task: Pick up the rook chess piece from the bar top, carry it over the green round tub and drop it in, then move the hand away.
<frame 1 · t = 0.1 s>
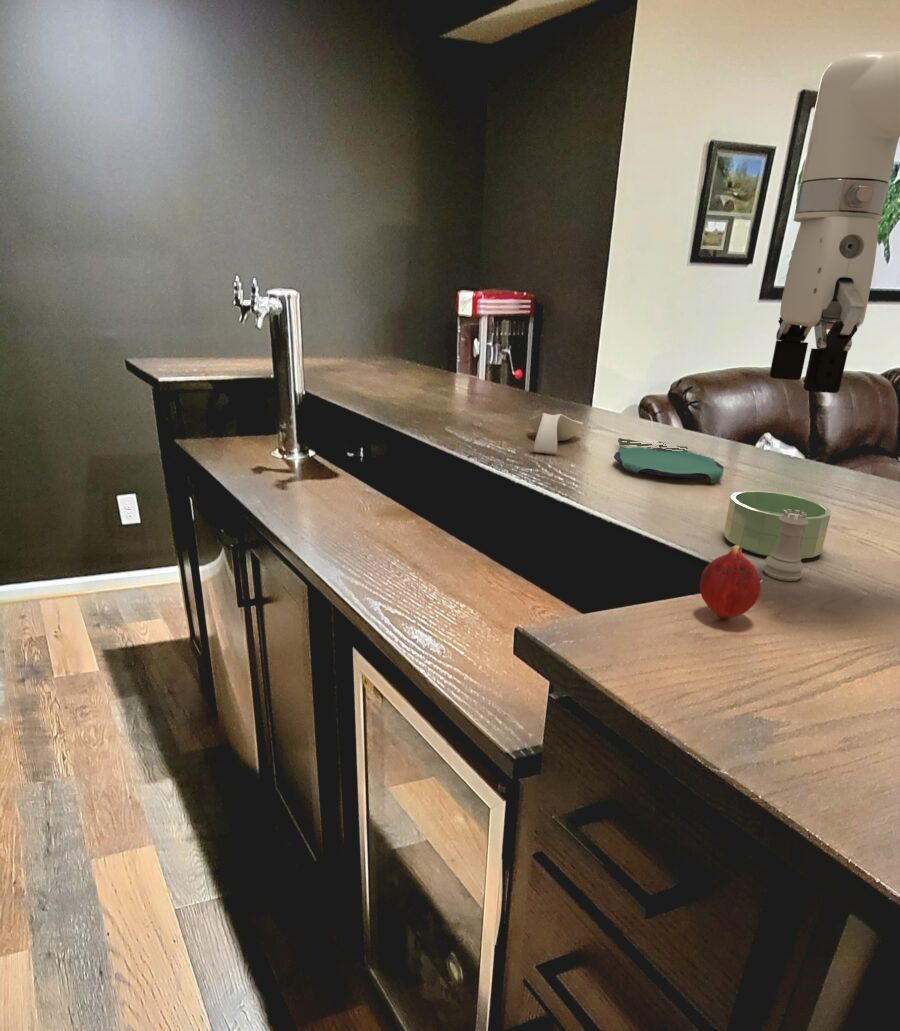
hand: (801, 384, 74), 24 cm above the counter, tool pointing down, fingers open, 9 cm apart
green round tub: (770, 545, 98), on the counter
spoon rest: (551, 444, 153), on the counter
rook chess piece: (781, 576, 88), on the counter
cutlery set: (663, 465, 140), on the counter
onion: (723, 620, 75), on the counter
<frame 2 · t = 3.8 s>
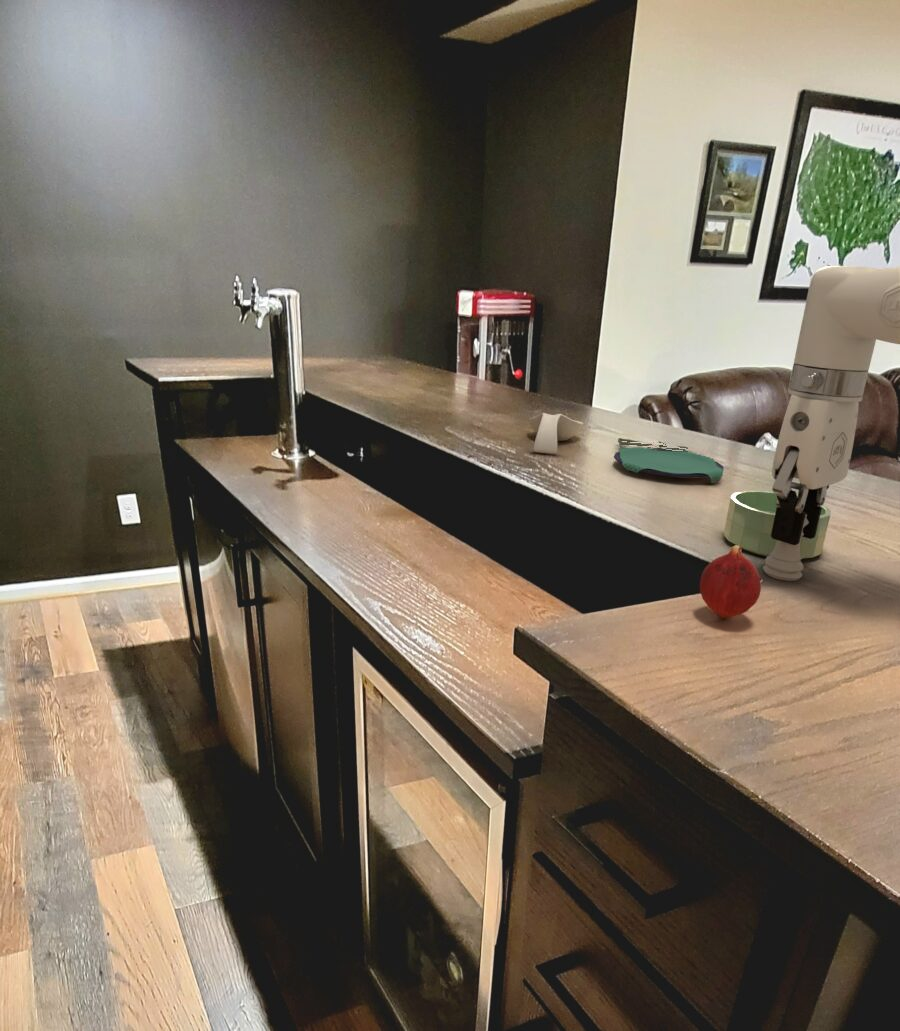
hand: (792, 536, 86), 5 cm above the counter, tool pointing down, fingers closed on rook chess piece, 3 cm apart
rook chess piece: (781, 576, 88), on the counter, touching gripper
everything else where it was.
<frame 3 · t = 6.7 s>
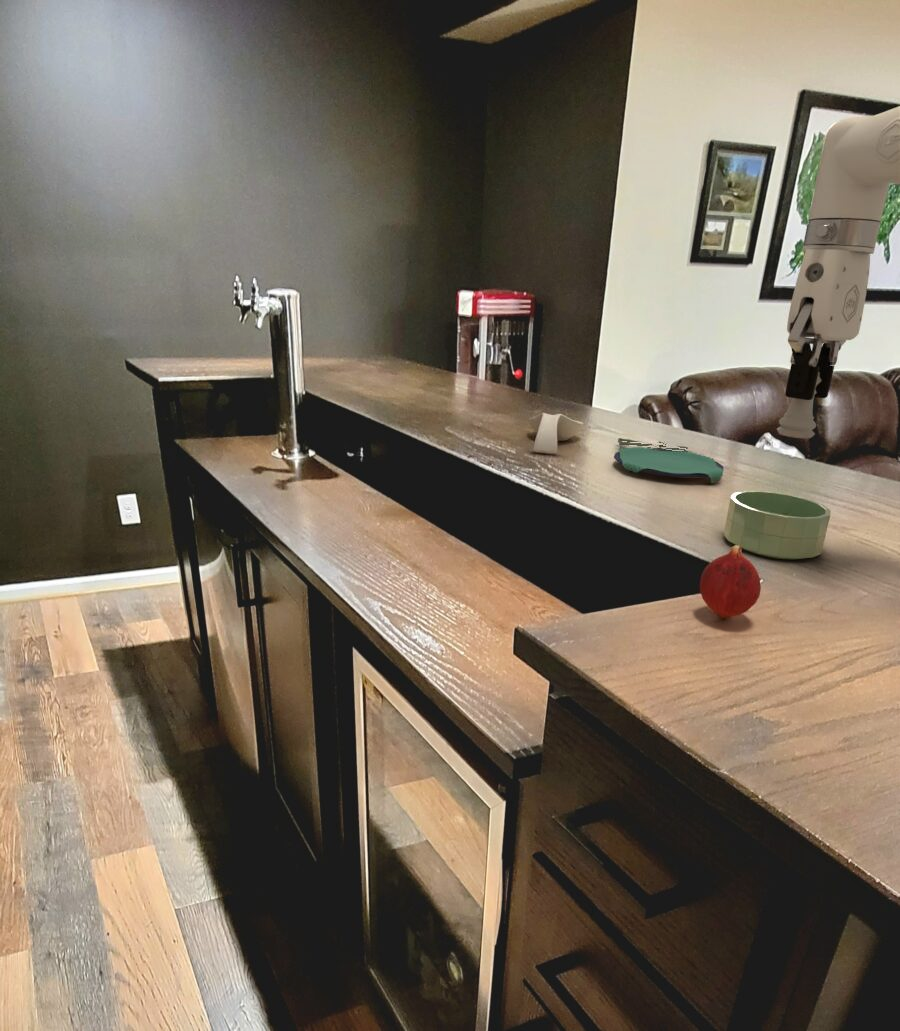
hand: (806, 395, 89), 21 cm above the counter, tool pointing down, fingers closed on rook chess piece, 3 cm apart
rook chess piece: (794, 436, 91), point 15 cm above the counter, touching gripper
everything else where it was.
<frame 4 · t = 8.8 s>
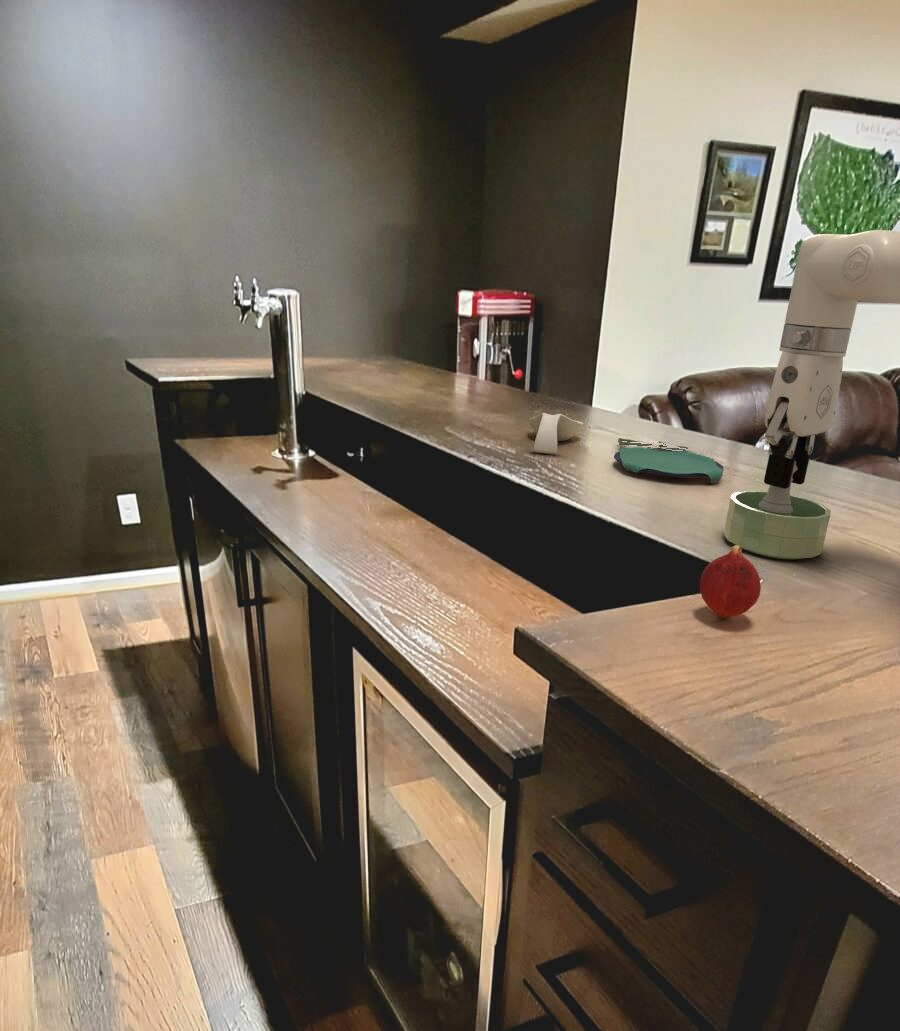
hand: (783, 482, 95), 9 cm above the counter, tool pointing down, fingers closed on rook chess piece, 3 cm apart
rook chess piece: (773, 519, 97), point 4 cm above the counter, touching gripper
everything else where it was.
when the fingers open (6 cm above the counter, at t = 10.0 s): rook chess piece stays where it is, resting on green round tub.
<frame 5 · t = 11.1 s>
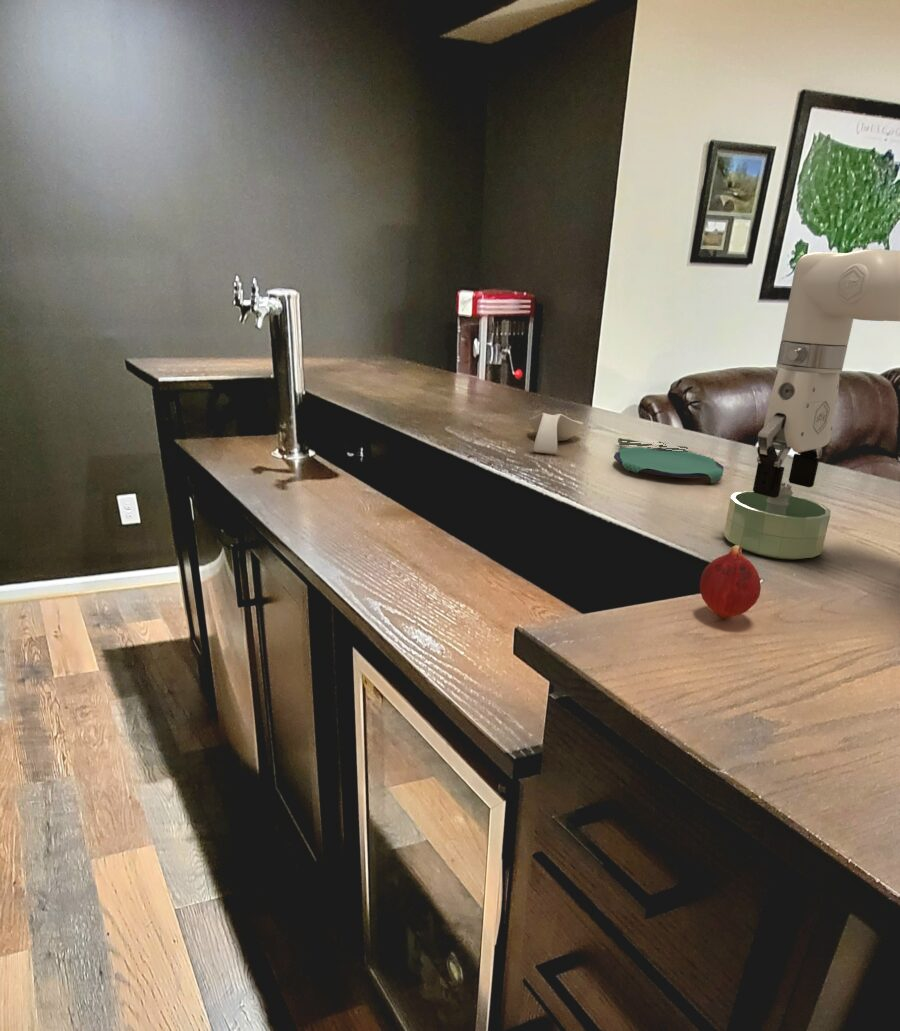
hand: (783, 489, 95), 8 cm above the counter, tool pointing down, fingers open, 9 cm apart
rook chess piece: (769, 542, 98), resting on green round tub
everything else where it was.
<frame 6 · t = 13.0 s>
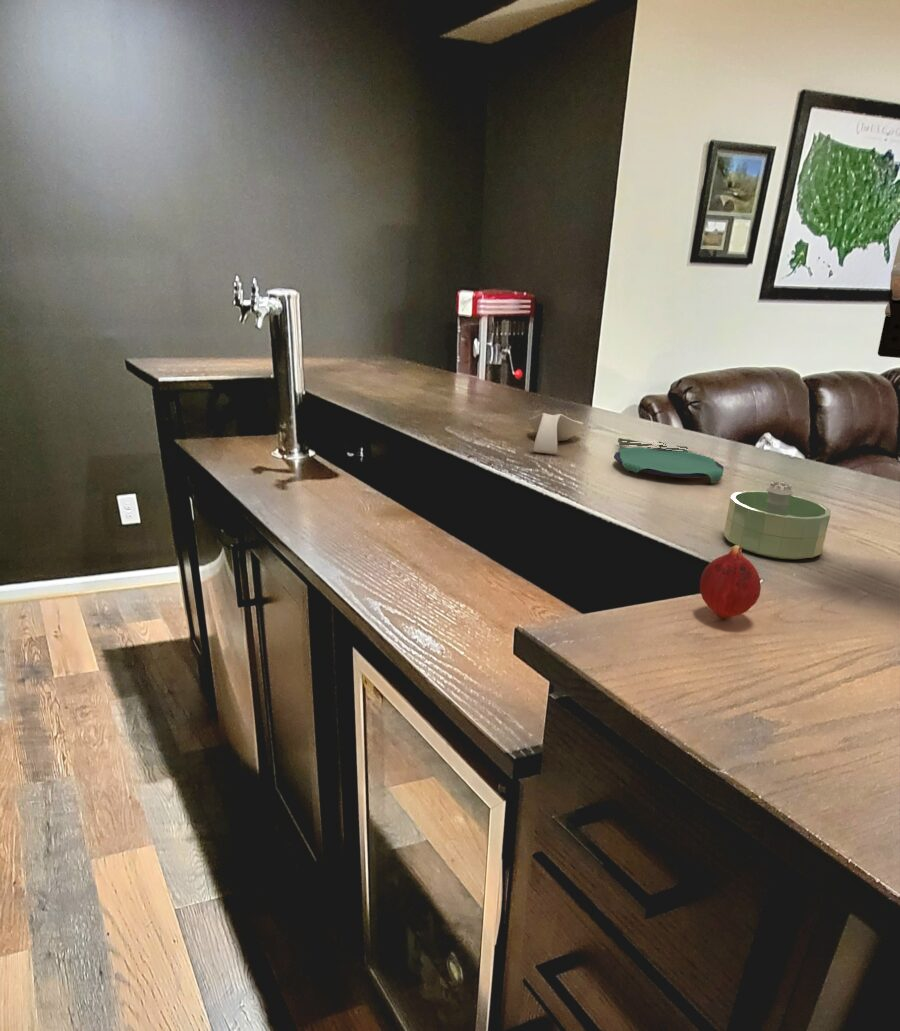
nothing on the counter moved.
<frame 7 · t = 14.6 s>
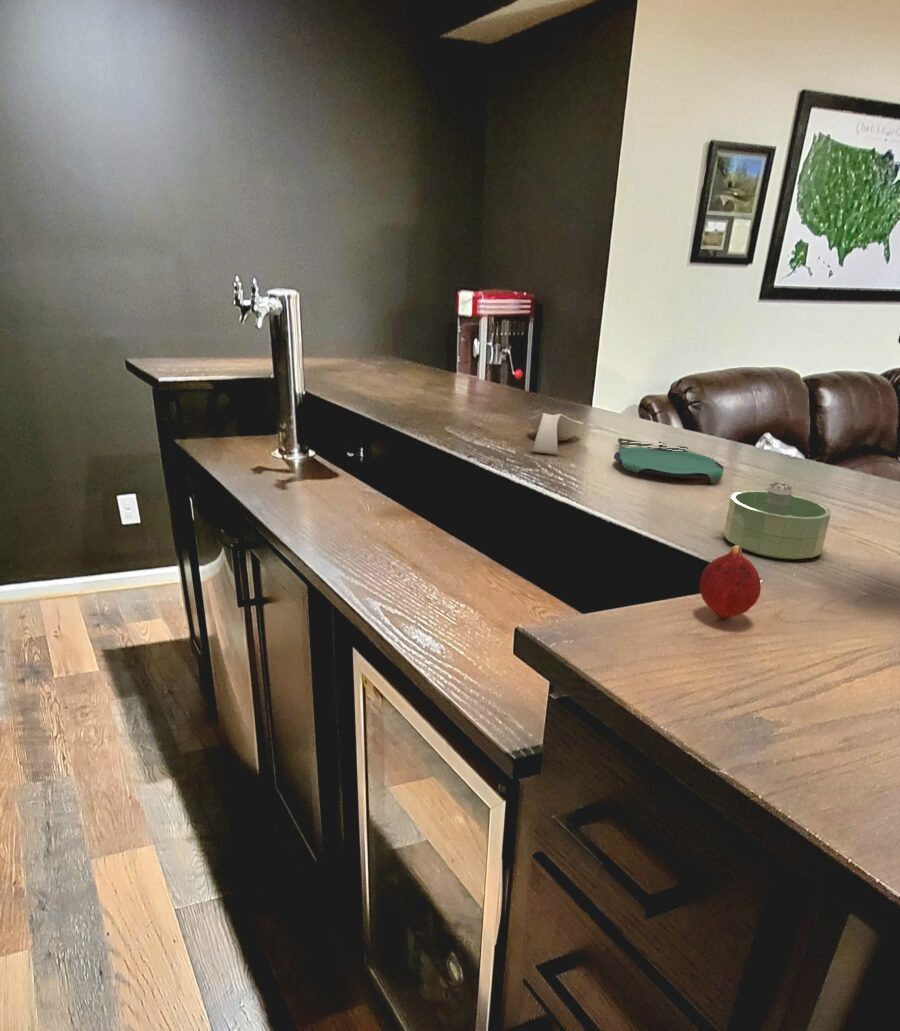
nothing on the counter moved.
at the end: rook chess piece inside the target area in the green round tub (0.4 cm from its centre), point 0.4 cm above the green round tub's base; the gripper is holding nothing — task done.
